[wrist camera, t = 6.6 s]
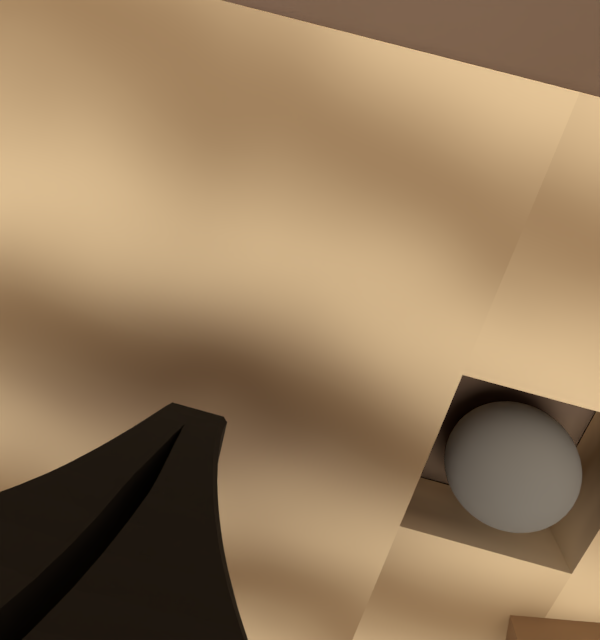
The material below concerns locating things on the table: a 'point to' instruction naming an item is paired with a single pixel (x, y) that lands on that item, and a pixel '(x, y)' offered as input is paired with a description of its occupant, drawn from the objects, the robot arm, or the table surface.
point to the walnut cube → (550, 629)
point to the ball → (513, 467)
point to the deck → (301, 294)
